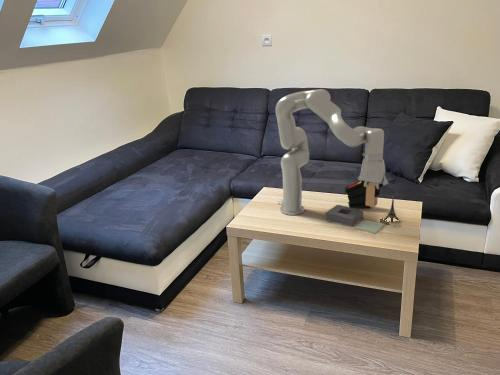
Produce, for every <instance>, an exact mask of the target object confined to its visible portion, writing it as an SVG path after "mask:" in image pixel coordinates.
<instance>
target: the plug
mask: <svg viewBox="0 0 500 375" xmlns="http://www.w3.org/2000/svg"><path fill="white" fill-rule="evenodd" d="M375 189H376V183H372V182H369V183H368V184H367V185H366V205H367V206H370V208H371V207H373V208H375V207H376V206H377V205H378V198H379V196H377V197H375Z"/></svg>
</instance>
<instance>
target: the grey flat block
mask: <svg viewBox="0 0 500 375" xmlns="http://www.w3.org/2000/svg"><path fill="white" fill-rule="evenodd" d="M362 219H364V210H363V209H360V208H350V207H349V206H346V205H341V204H335V206H333V207H331V208H330V209H329V210H327V211H326V212H325V221H329V222H332V223H336V224H341V225H345V226H349V227H353V226H355V225H356V224H358V223H359V221H361V220H362Z"/></svg>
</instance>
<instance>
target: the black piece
mask: <svg viewBox="0 0 500 375" xmlns="http://www.w3.org/2000/svg"><path fill="white" fill-rule="evenodd" d="M344 190H345V191H344V192H345V194H346V195H347V199H348V202H347V203H348V207H350V208H355V209H371V206H367V205H366V195H365V192H364V190H365V187H364V185H363V184H362V182H361V181H360V180H358V181H356V182H354V183H352V184H349V185H347V186H345V187H344Z"/></svg>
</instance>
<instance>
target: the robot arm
mask: <svg viewBox="0 0 500 375" xmlns="http://www.w3.org/2000/svg"><path fill="white" fill-rule="evenodd" d="M331 98H332V97H331V94H330V93H329V91H328V90H327V89H324V88H320V89H319V88H318V89H311V90H303V91H297V92H293V93H290V94H287V95H285V96H283V97H282V98H280V99H279V100H278V101H277V103H276V105H275V116H276V120H277V121H276V122H277V129H278V135H279V140H280V142H279V143H280V146H281V147H282V149H284V150H286V151H287V150H290V151H288V152H286V153H285V154H283V156H282V157H281V159H280V167H281V172H282V199H278V201H277V205H280V206H281V207H280V212H281V213H282V214H284V215H287V216H297V215H301V214H303V213H304V212H305V211H306V210H305V207H304V206H303V205H302V197H303V195H302V193H303V191H302V189H303V188H302V187H303V186H302V182H303V181H302V180H303V179H302V178H303V177H302V174H301V173H302V172H301V170H300V169H301V168H302V167H304V166H305V165H306V164H308V162H309V161H310V150H309V143H308V137H307V136H308V135H307V133H306V132H305V130H304V129H303V128H302V127H299V126H296V120H295V117H294V115H293V114H294V113H295V112H299V111H301V110H304V109H305V110H306V109H310V110H311V111H312V112H313V113H314V114H316V115H317V116H318V117H320V118H321V120H323V121H324V122H326V123H327V126H329V129H330V130H331V132H332V134H333V135H334V136H335V137H336V138H337V139H338V140H340V142H342V143H343V144H345V145H346V146H348V147H350V148H355V147H356V148H357V147H358V146H360V145H362V144H365V149H364V150H365V152H362V154H361V155H362V156H363V157H364V158H363V159H362V161H361V162H362V164H361V169H360V174H359V176H358V177H357V179H358V181H361V182H362V184H363V185H364V187H365V190H364V192H365V195H366V185H367V184H368V183H370V182H371V183H376V189H375V197H377V196H378V197H379V196H380V194H381V188H382V187H383V186H384V187H385V186H386V185H387V184H389V181H388V179H387V178H386V165H385V160H384V158H383V157H384V143H385V142H384V141H385V132H384V130H383V129H382V128H377V127H376V128H372V127H367V126H362V125H361V126H360V125H359V126H356V127H354V128H352V127H350V126H349V124H347V123H346V122H345V121H344V120H343V117H342V110H341V108H340V107H339V106H338V105H336V104H335V103H334V102H333V101H332V100H331Z"/></svg>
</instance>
